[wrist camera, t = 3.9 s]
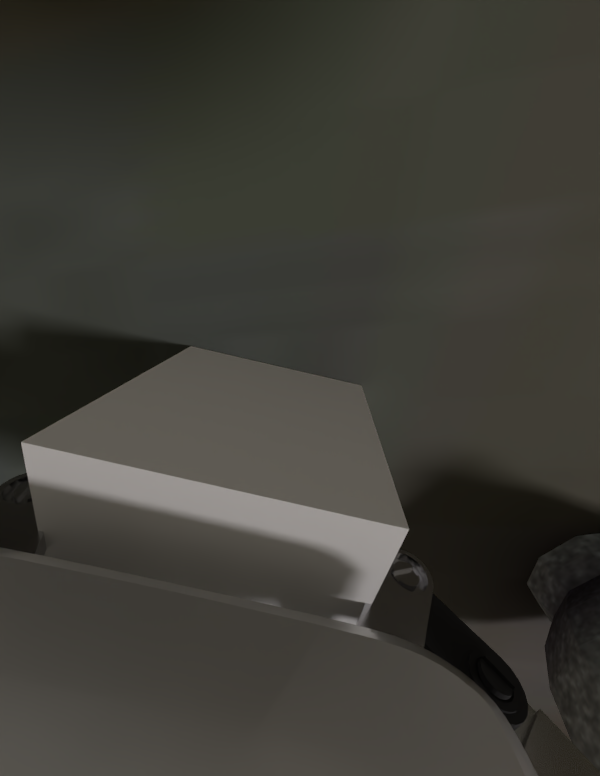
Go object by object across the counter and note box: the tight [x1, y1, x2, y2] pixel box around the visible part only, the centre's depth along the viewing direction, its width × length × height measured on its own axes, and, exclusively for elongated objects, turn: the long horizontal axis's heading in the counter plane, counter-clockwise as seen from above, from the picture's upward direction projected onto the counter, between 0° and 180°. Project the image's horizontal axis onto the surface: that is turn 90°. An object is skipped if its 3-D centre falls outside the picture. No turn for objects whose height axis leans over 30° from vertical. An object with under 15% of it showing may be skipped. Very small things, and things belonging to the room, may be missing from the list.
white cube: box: [21, 346, 409, 625], centre depth 10 cm, size 7×7×7 cm
